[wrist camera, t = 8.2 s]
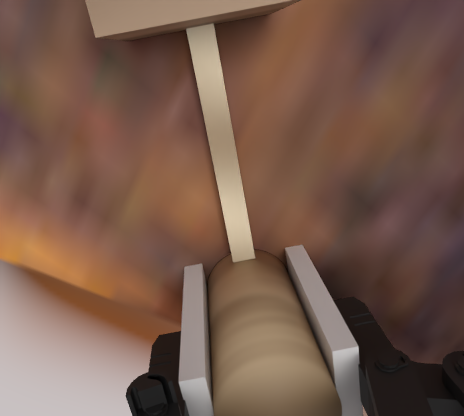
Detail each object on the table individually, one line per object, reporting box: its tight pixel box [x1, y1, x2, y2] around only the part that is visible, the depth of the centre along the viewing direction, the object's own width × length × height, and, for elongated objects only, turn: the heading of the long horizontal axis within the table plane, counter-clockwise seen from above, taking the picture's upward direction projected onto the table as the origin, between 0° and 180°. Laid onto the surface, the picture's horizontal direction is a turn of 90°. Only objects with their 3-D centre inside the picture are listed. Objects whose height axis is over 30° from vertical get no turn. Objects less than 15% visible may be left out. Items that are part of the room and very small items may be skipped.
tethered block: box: [85, 0, 342, 416], centre depth 12 cm, size 17×5×7 cm, turn 10°
